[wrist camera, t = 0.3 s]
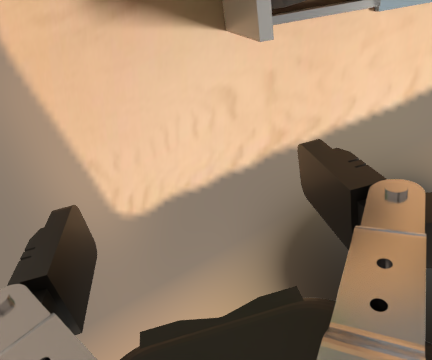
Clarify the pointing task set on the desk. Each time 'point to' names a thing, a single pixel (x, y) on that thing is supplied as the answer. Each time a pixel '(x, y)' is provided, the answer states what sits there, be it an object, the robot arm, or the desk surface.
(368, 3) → the open rectangular frame
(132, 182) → the desk surface
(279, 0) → the cpu cooler
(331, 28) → the desk surface
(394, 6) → the rubber mat
